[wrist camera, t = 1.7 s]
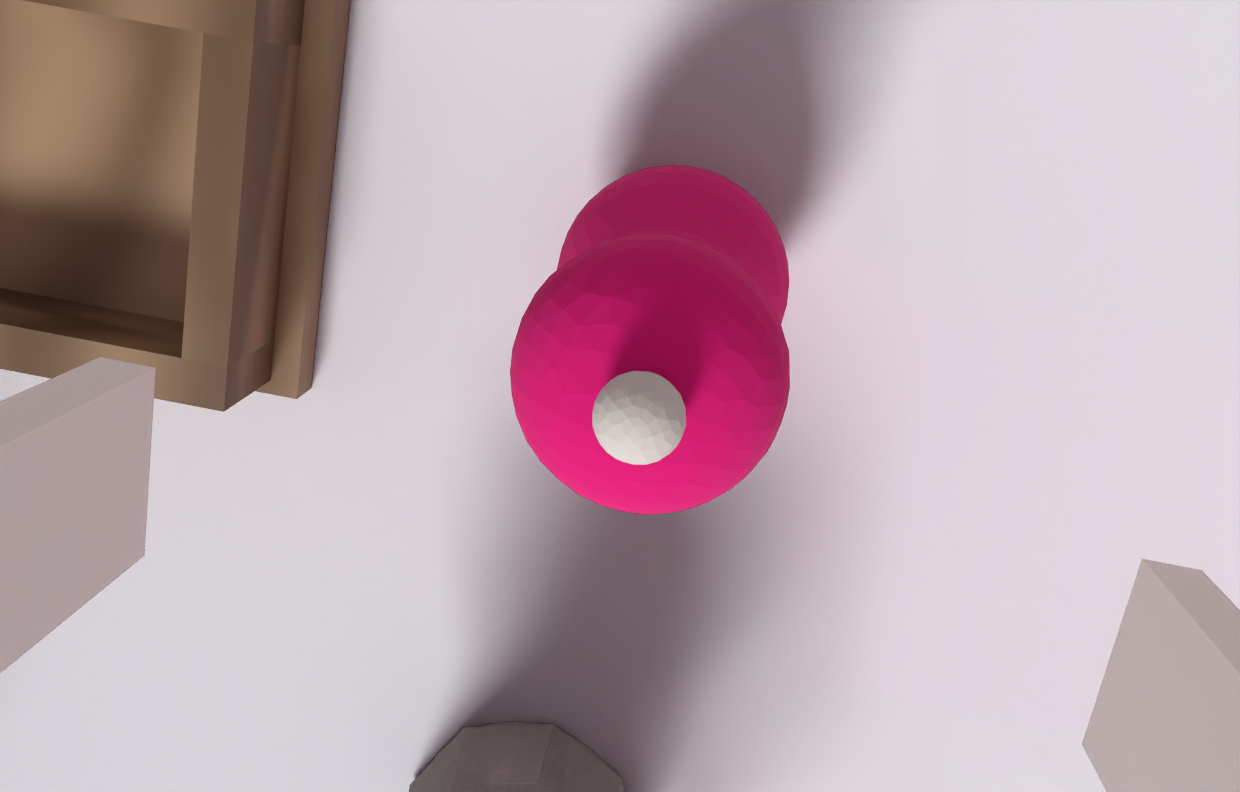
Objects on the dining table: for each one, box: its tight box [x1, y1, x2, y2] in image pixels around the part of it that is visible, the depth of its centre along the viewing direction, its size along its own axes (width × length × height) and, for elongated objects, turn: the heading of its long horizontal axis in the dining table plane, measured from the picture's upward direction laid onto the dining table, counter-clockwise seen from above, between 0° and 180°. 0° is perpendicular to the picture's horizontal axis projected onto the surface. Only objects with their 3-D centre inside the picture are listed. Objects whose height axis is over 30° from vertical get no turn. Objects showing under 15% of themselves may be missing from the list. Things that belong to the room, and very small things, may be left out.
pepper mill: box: [510, 165, 790, 514], centre depth 31 cm, size 7×7×20 cm
